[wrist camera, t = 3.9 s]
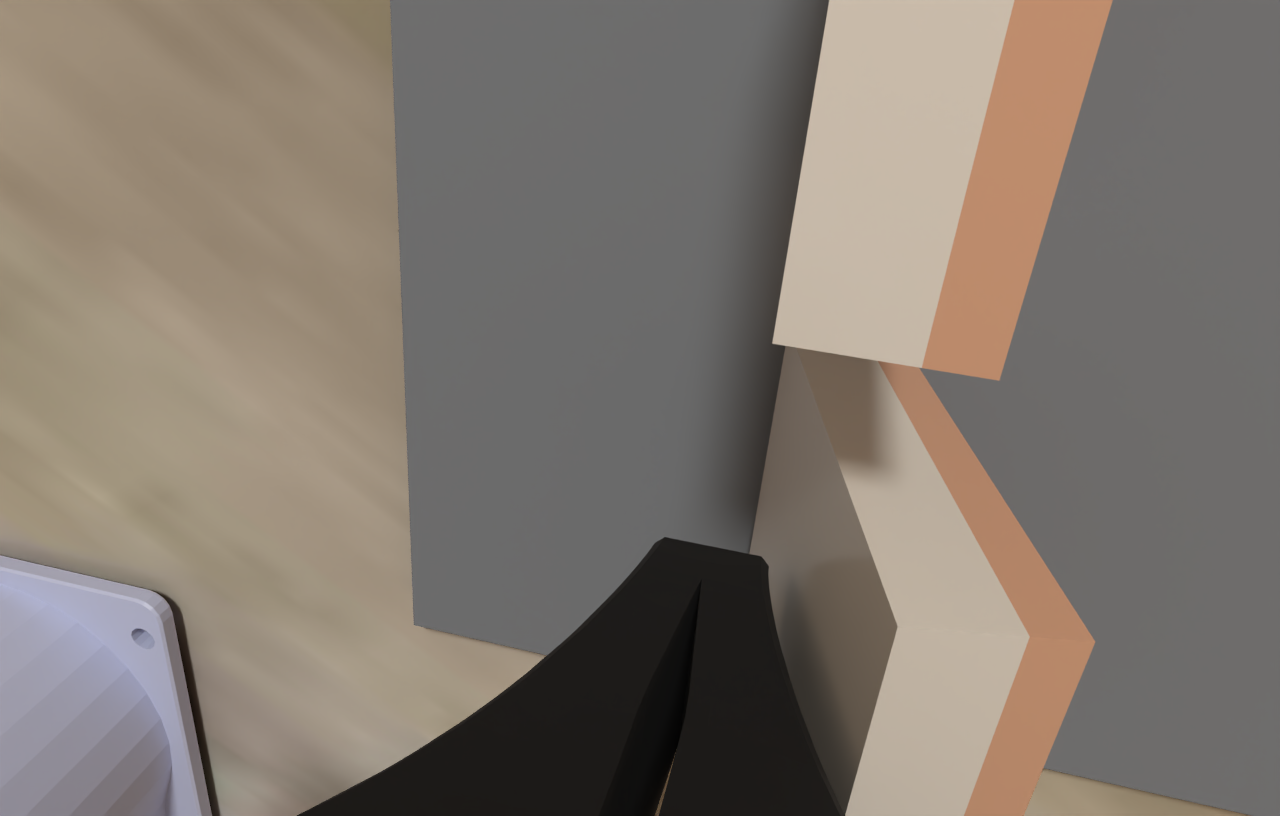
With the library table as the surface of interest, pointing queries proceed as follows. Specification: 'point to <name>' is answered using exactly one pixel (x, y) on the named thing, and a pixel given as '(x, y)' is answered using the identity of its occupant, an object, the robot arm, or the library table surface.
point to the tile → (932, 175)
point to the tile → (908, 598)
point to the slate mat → (751, 365)
